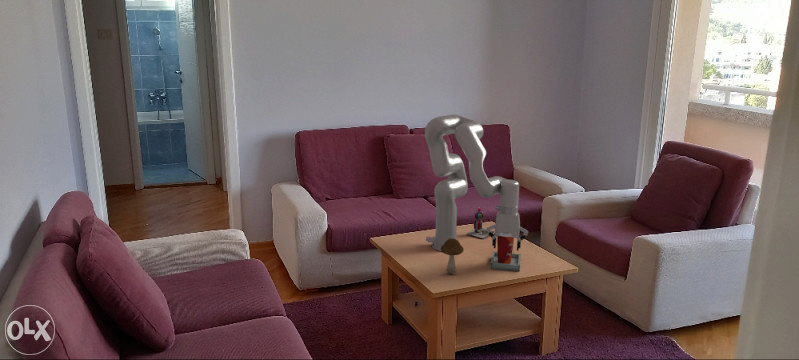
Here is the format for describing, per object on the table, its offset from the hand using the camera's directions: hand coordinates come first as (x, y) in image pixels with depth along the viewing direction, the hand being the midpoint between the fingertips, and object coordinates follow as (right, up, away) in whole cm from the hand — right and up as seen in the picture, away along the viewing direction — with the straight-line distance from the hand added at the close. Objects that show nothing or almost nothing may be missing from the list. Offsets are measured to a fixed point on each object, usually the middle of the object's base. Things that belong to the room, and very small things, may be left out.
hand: (506, 248), depth 247 cm
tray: (0, -7, +1) cm, 7 cm away
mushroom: (-24, -9, -9) cm, 27 cm away
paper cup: (-1, -6, +2) cm, 6 cm away
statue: (-5, +2, +39) cm, 39 cm away
